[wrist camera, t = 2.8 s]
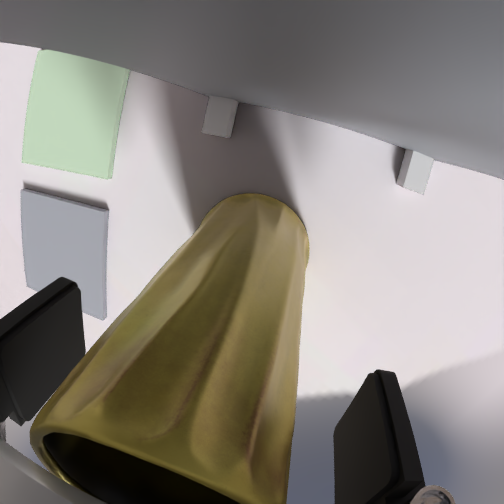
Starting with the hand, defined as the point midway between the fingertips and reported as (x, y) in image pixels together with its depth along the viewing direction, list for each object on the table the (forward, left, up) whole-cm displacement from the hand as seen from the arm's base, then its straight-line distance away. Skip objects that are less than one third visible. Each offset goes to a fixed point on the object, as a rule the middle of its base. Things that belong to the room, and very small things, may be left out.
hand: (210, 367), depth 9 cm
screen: (-8, +2, -9) cm, 13 cm away
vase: (0, 0, -9) cm, 9 cm away
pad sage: (-6, -13, -9) cm, 17 cm away
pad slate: (+4, -13, -9) cm, 16 cm away
